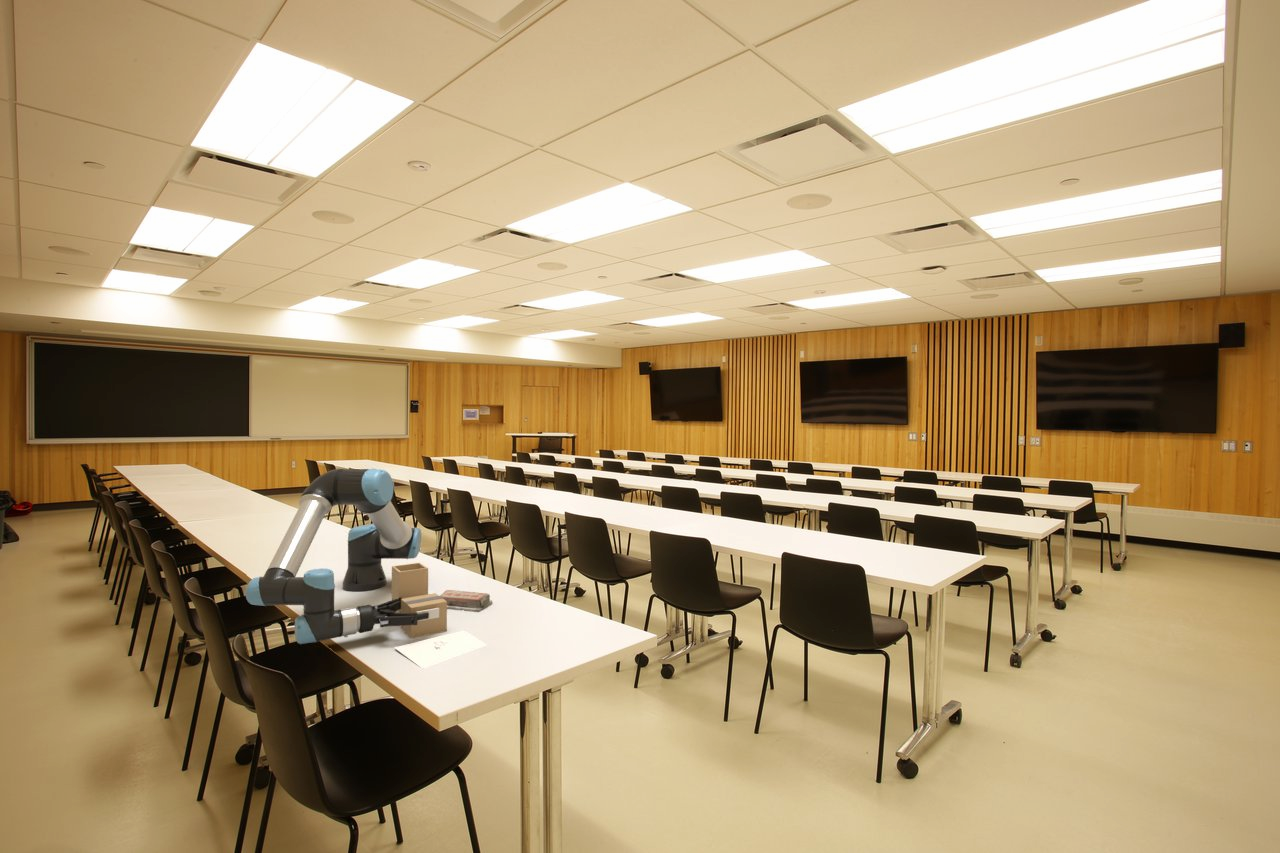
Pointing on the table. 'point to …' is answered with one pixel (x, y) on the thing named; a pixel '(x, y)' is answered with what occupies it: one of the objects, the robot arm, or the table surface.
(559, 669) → the table surface
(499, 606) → the table surface
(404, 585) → the tan tall box
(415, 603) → the brown cardboard block
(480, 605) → the packaged product
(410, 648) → the paper sheet
